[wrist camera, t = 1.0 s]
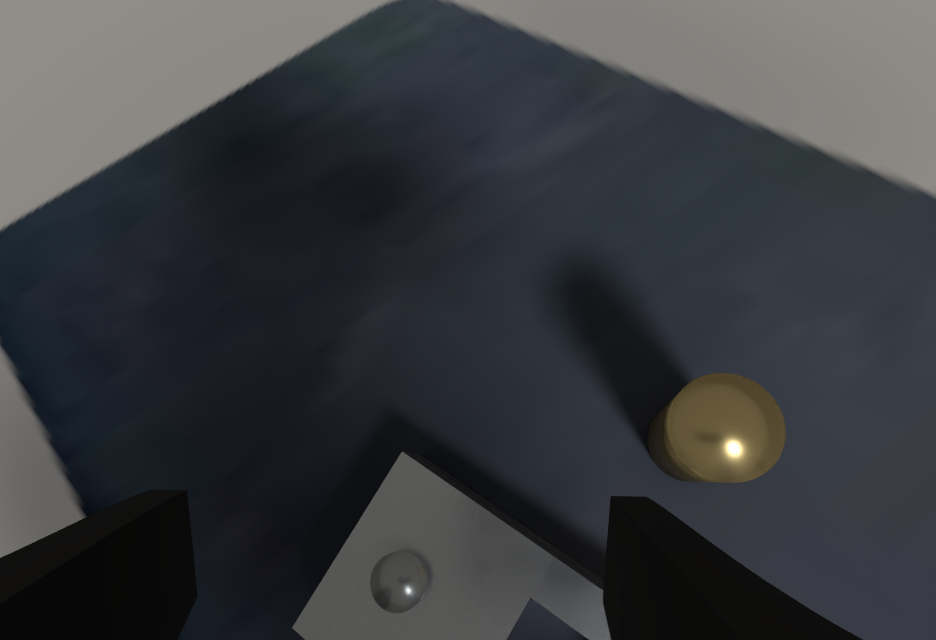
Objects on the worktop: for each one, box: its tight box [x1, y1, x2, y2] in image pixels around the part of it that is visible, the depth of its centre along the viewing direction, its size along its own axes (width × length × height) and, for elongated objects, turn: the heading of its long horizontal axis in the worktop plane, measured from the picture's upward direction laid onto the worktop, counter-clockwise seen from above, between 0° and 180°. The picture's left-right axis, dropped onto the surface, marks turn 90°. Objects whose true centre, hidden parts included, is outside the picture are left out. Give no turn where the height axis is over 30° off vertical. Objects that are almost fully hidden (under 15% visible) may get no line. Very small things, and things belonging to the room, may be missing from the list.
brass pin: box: [647, 373, 786, 483], centre depth 19 cm, size 3×3×7 cm
